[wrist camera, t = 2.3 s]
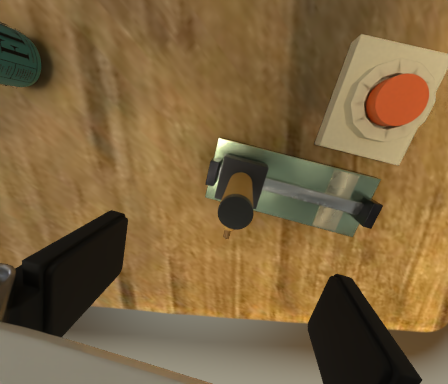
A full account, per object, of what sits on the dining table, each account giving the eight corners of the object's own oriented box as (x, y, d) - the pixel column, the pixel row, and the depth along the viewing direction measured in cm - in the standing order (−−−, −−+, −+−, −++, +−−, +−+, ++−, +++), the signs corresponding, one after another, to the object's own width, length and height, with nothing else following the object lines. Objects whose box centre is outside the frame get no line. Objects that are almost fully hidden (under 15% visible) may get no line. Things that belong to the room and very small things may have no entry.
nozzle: (227, 153, 26) (209, 172, 15) (266, 163, 26) (279, 190, 15) (211, 217, 29) (186, 276, 18) (247, 227, 29) (244, 292, 17)
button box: (351, 42, 23) (371, 25, 19) (435, 61, 22) (473, 48, 19) (314, 144, 26) (324, 146, 22) (387, 162, 26) (410, 168, 22)
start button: (377, 72, 20) (389, 67, 19) (424, 83, 20) (439, 79, 18) (358, 120, 22) (367, 119, 20) (401, 130, 22) (414, 131, 20)
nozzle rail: (219, 137, 27) (215, 138, 24) (375, 177, 26) (394, 184, 23) (206, 194, 30) (201, 203, 26) (348, 233, 29) (362, 247, 26)
